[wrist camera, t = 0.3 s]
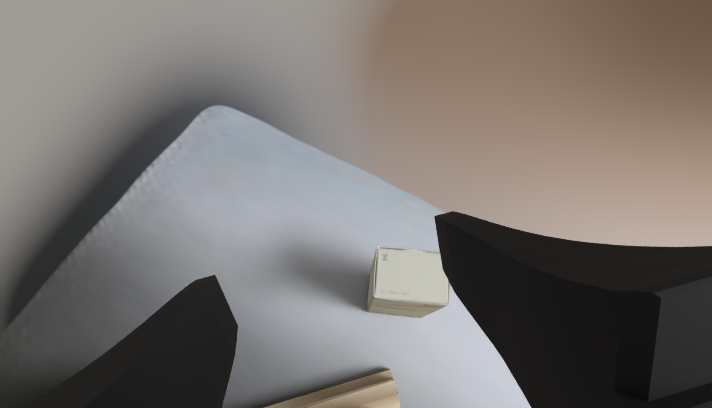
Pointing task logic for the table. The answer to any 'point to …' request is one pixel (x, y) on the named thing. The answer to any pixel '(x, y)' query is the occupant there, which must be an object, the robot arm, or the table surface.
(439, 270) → the skincare box
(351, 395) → the chute
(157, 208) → the table surface
